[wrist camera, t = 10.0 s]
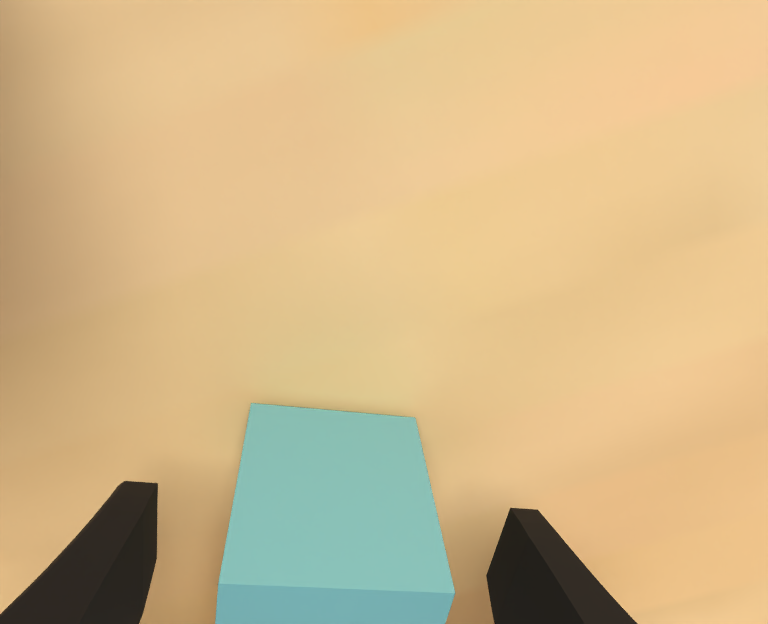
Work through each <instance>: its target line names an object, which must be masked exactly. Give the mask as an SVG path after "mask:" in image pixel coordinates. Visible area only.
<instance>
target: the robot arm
mask: <svg viewBox="0 0 768 624" xmlns="http://www.w3.org/2000/svg"><path fill="white" fill-rule="evenodd" d="M157 496H158V483H145V482H131V481H124V482H123V483H121V484H120V485H119V486H118V487H117V488H116V489H115V491H114V492H113V493H112V495H111V496H110V497H109V498H108V500H107V501H106V502H105V503H104V505H103V506H102V507H101V508H100V509H99V511H98V512H97V513H96V514H95V515H94V517H93V518H92V519H91V520H90V521H89V522H88V524H87V525H86V526H85V527H84V528H83V529H82V530H81V532H80V533H79V534H78V535H77V536H76V537H75V538H74V539H73V541H72V542H71V543H70V544H69V545H68V546H67V547H66V548H65V549H64V550H63V551H62V552H61V554H60V555H59V556H58V557H57V558H56V559H55V560H54V561H53V562H52V563H51V564H50V565H49V566H48V568H47V569H46V570H45V571H44V572H43V573H42V574H41V575H40V576H39V577H38V578H37V579H36V580H35V581H34V582H33V583H32V584H31V585H30V586H29V587H28V588H27V589H26V590H25V591H24V592H23V593H22V594H21V595H20V596H19V597H17V598H16V599H15V600H14V601H13V602H12V603H11V604H10V605H9V606H8V607H7V608H6V609H5V610H4V611H3V612H2V613H1V614H0V624H139V622H140V619H141V617H142V614H143V611H144V607H145V603H146V599H147V595H148V591H149V588H150V583H151V579H152V575H153V571H154V567H155V563H156V559H157ZM486 576H487V582H488V589H489V595H490V601H491V607H492V612H493V618H494V623H495V624H637V623H636V622H635V621H634V620H633V619H632V618H631V617H630V616H629V615H628V613H627V612H626V611H625V610H624V609H623V608H622V607H621V606H620V605H619V604H618V603H617V602H616V600H615V599H614V598H613V597H612V596H611V595H610V594H609V593H608V592H607V590H606V589H605V588H604V587H603V586H602V585H601V584H600V583H599V581H598V580H597V579H596V578H595V577H594V576H593V575H592V573H591V572H590V571H589V570H588V569H587V568H586V566H585V565H584V564H583V563H582V562H581V560H580V559H579V558H578V557H577V556H576V555H575V553H574V552H573V551H572V550H571V549H570V547H569V546H568V545H567V544H566V543H565V542H564V540H563V539H562V538H561V537H560V536H559V534H558V533H557V532H556V531H555V530H554V528H553V527H552V526H551V525H550V524H549V522H548V521H547V520H546V519H545V518H544V517H543V515H542V514H541V513H540V512H539V511H538V510H533V509H519V508H510V510H509V513H508V516H507V519H506V522H505V525H504V527H503V530H502V533H501V536H500V539H499V542H498V544H497V547H496V550H495V553H494V556H493V558H492V561H491V564H490V567H489V570H488V573H487V575H486Z"/></svg>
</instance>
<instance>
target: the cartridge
mask: <svg viewBox="0 0 768 624" xmlns="http://www.w3.org/2000/svg"><path fill="white" fill-rule="evenodd" d="M454 595H455V590H454V586H453V581H452V577H451V573H450V568H449V564H448V559H447V555H446V551H445V546H444V542H443V537H442V533H441V529H440V524H439V520H438V515H437V511H436V507H435V502H434V498H433V493H432V489H431V485H430V480H429V476H428V471H427V467H426V463H425V458H424V454H423V450H422V445H421V441H420V436H419V432H418V428H417V423H416V419H415V418H413V417H402V416H391V415H379V414H368V413H357V412H346V411H334V410H323V409H312V408H301V407H290V406H278V405H267V404H256V403H251V407H250V412H249V418H248V423H247V429H246V434H245V440H244V445H243V451H242V456H241V462H240V467H239V473H238V478H237V484H236V489H235V495H234V500H233V506H232V511H231V517H230V522H229V528H228V533H227V539H226V544H225V550H224V555H223V561H222V566H221V572H220V577H219V583H218V594H217V607H216V620H215V624H445V623H446V620H447V617H448V614H449V611H450V608H451V604H452V601H453V598H454Z"/></svg>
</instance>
